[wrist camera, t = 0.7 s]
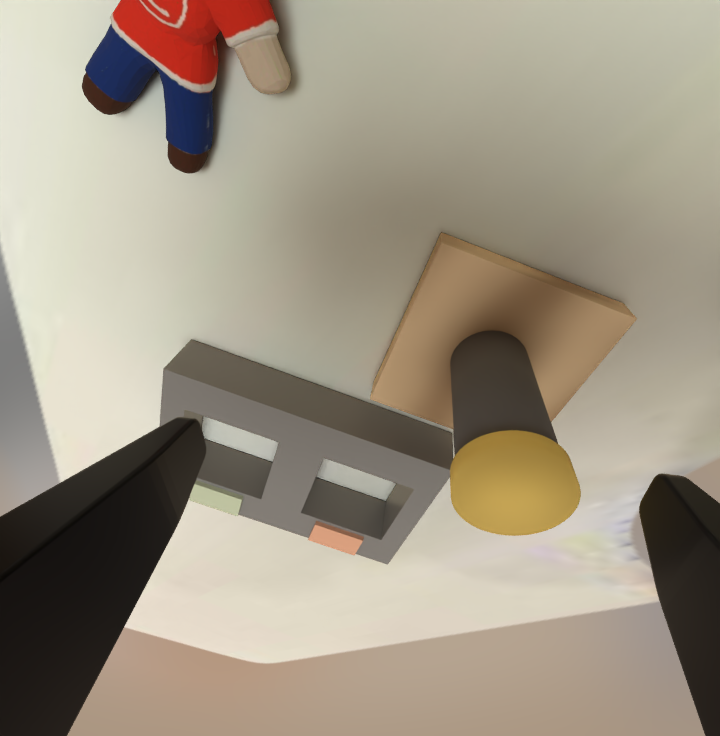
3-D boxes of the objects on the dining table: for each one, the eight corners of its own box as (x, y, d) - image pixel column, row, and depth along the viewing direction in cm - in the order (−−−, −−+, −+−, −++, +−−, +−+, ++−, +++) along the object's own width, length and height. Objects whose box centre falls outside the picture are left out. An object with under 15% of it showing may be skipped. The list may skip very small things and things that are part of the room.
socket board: (452, 433, 25) (454, 475, 22) (391, 525, 31) (387, 568, 28) (191, 339, 24) (160, 372, 21) (178, 453, 30) (153, 490, 27)
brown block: (624, 303, 19) (636, 318, 18) (519, 435, 24) (523, 454, 23) (441, 232, 19) (441, 242, 18) (373, 382, 24) (369, 399, 23)
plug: (550, 344, 19) (608, 479, 13) (505, 407, 22) (535, 548, 15) (469, 314, 19) (487, 435, 13) (432, 380, 21) (431, 512, 15)
